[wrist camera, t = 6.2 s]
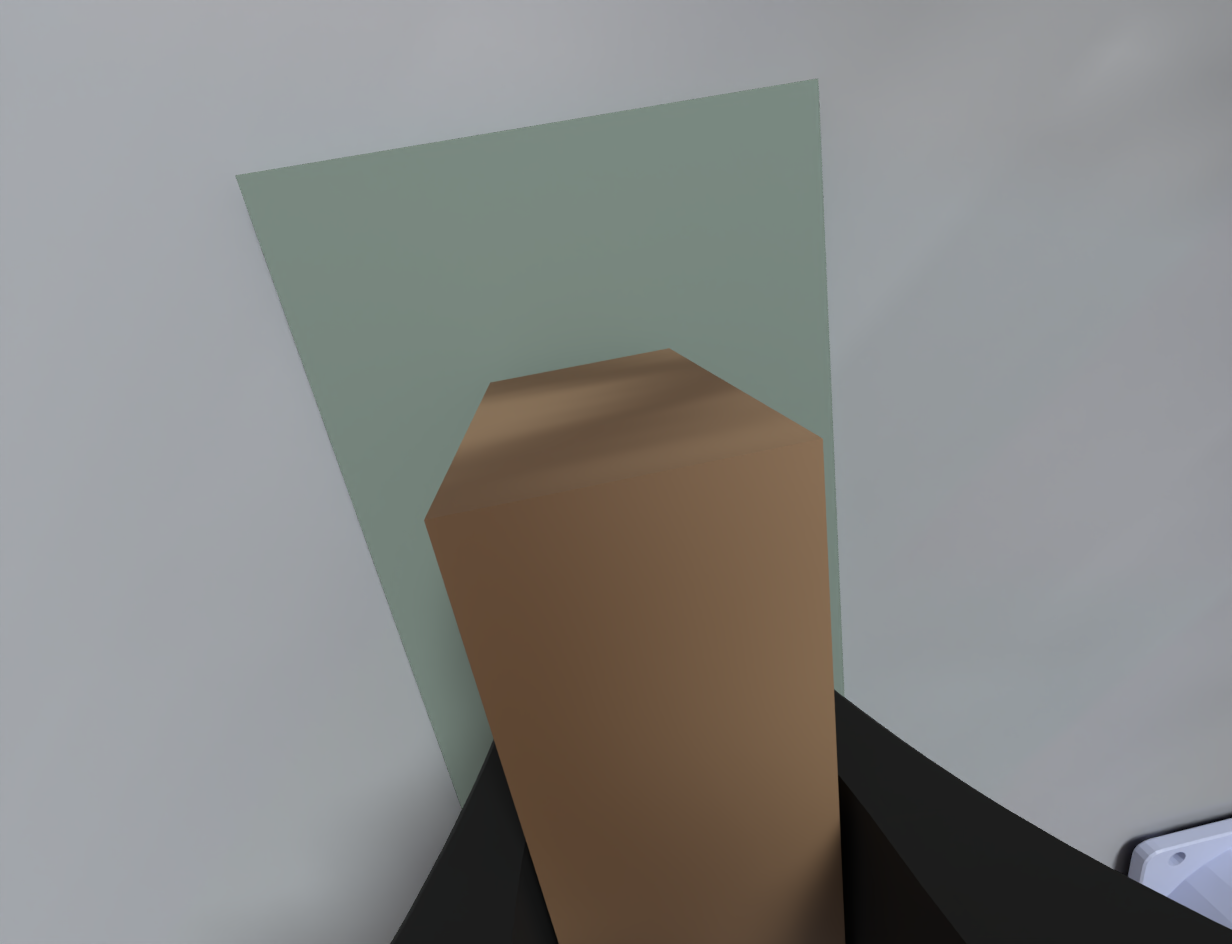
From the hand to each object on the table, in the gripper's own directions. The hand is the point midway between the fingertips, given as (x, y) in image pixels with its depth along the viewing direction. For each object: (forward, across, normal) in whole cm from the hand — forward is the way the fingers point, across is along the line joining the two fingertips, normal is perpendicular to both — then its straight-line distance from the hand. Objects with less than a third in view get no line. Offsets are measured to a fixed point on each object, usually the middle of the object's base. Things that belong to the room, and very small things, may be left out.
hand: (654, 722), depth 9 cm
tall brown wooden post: (+2, 0, +1) cm, 2 cm away
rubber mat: (+3, 0, 0) cm, 3 cm away
